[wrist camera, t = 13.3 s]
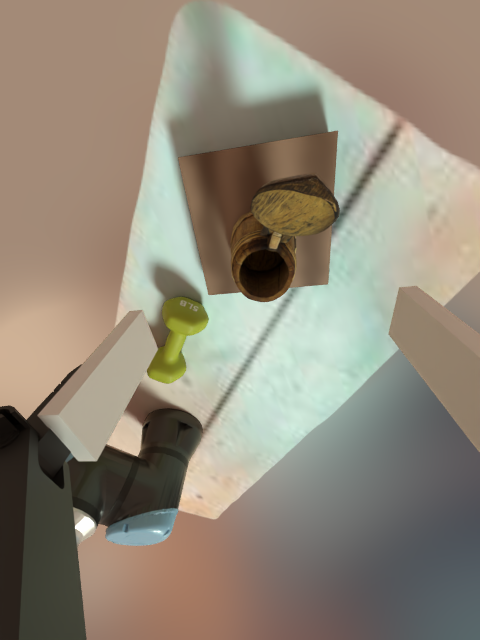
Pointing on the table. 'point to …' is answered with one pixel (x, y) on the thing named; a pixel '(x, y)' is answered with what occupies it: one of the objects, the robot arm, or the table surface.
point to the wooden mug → (278, 233)
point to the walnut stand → (236, 196)
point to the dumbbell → (176, 337)
